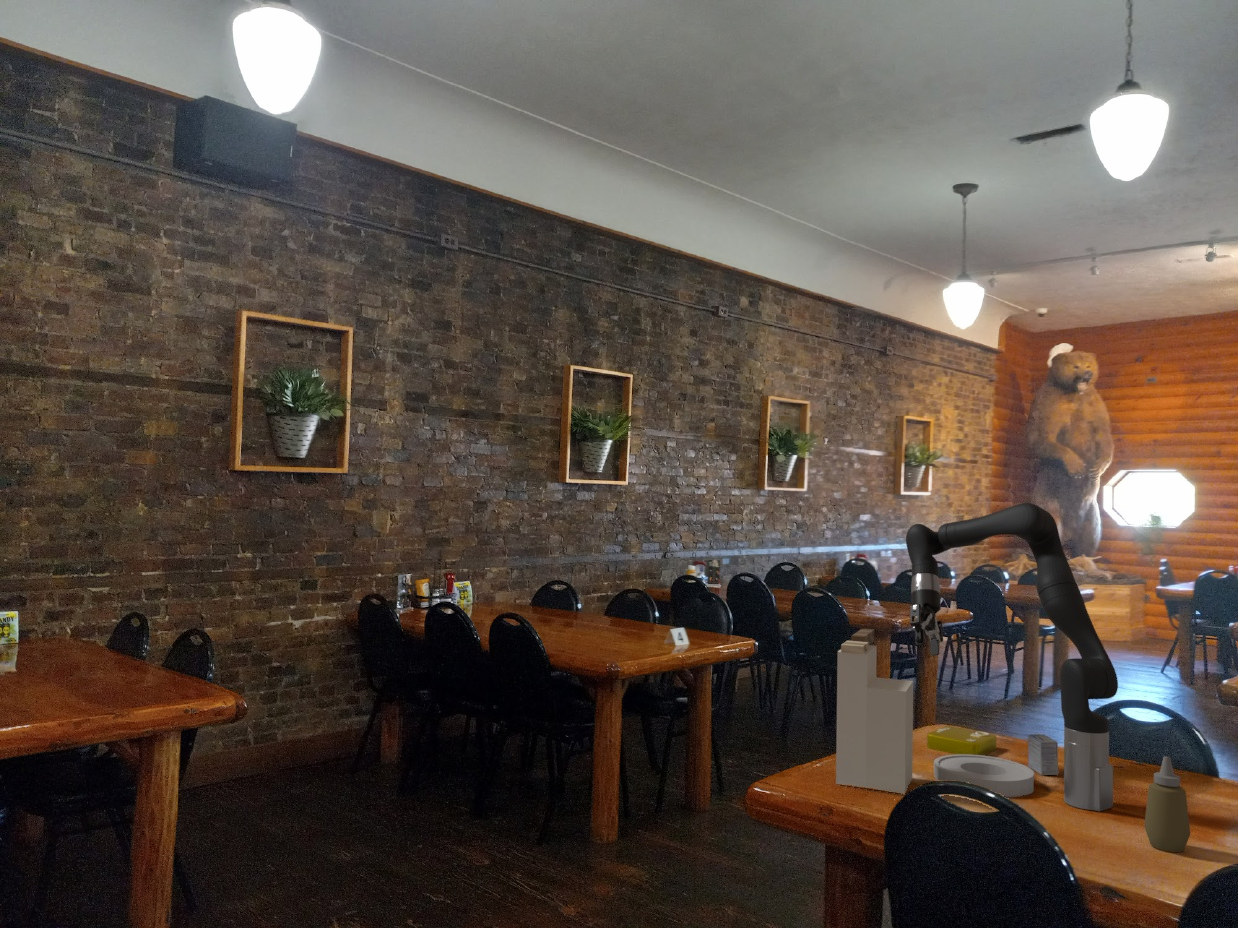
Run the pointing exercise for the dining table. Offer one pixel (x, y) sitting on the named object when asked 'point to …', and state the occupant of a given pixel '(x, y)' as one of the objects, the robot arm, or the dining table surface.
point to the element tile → (961, 741)
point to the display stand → (873, 725)
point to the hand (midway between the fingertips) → (927, 649)
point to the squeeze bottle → (1167, 811)
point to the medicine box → (1043, 754)
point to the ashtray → (986, 773)
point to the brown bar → (859, 642)
